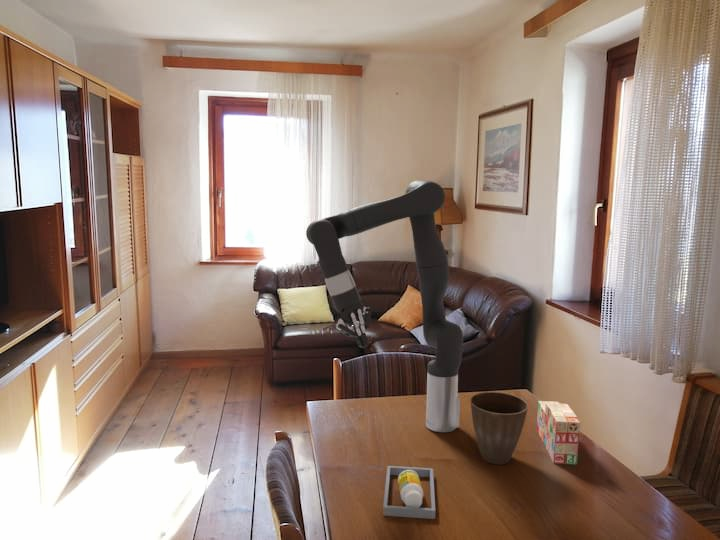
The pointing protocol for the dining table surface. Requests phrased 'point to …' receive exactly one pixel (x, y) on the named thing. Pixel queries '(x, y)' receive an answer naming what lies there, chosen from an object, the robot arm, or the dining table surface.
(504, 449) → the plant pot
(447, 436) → the dining table surface
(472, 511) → the dining table surface
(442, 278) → the robot arm
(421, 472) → the frame
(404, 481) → the supplement bottle
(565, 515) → the dining table surface
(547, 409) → the stack of blocks
